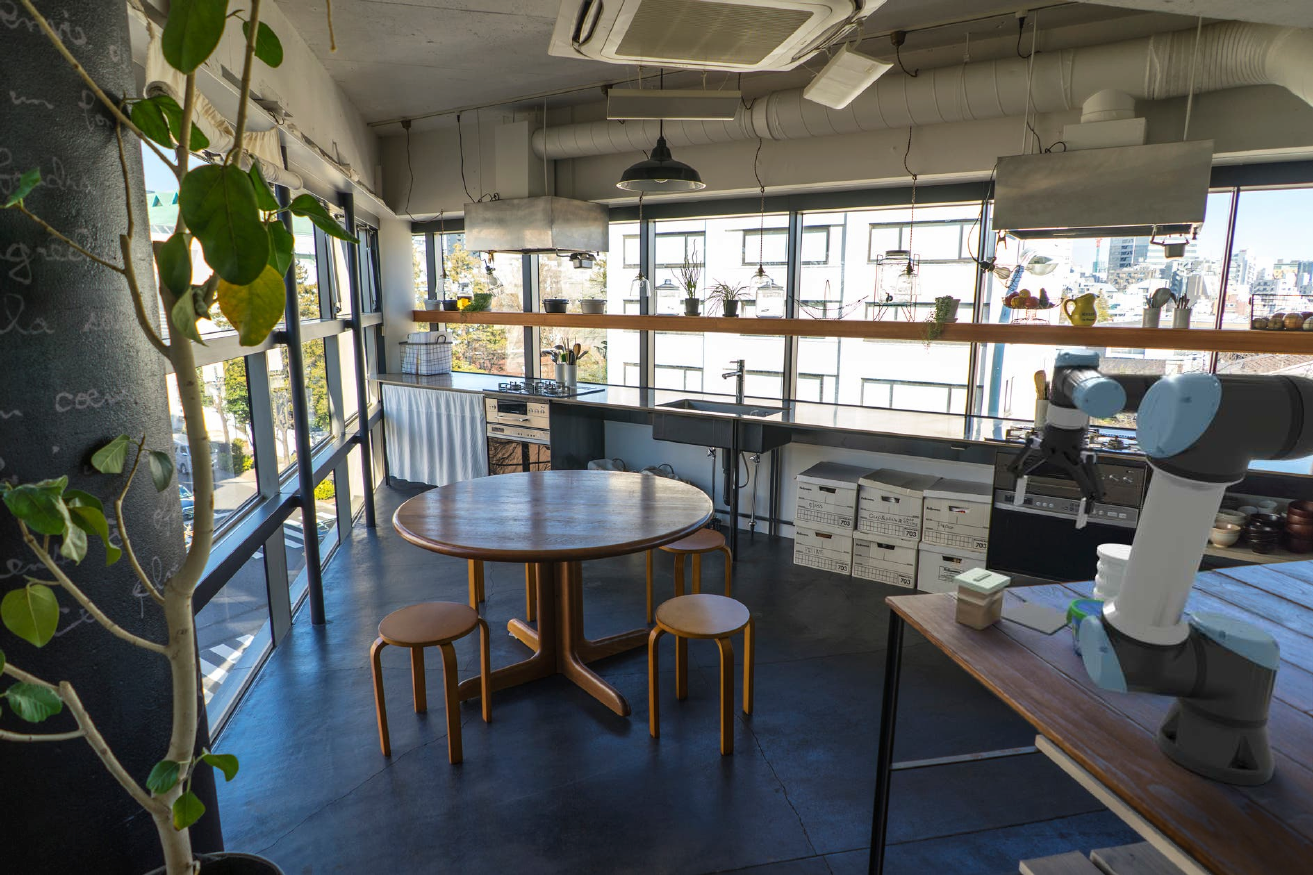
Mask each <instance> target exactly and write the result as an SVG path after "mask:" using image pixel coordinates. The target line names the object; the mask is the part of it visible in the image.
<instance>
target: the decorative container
mask: <svg viewBox="0 0 1313 875" xmlns="http://www.w3.org/2000/svg"><path fill="white" fill-rule="evenodd" d="M1131 548H1132V545H1127V544H1120V543H1103V544H1100V545H1098V546H1097V549H1096V555H1097V556H1098V557H1099V560H1098V561H1097V564H1096V568H1097V574H1096V576H1095V577H1094V579H1095V587H1094V589H1093V597H1094V598H1093V599H1096V600H1101V601H1107V600H1108V599H1110V598H1112V597H1115V596H1118V593H1119V589H1120V586H1121V582H1122V579H1123V575H1124V572H1125V569H1126V565H1127V562H1128V558H1129V555H1130V551H1131Z"/></svg>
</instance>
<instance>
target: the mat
mask: <svg viewBox="0 0 1313 875" xmlns="http://www.w3.org/2000/svg"><path fill="white" fill-rule="evenodd" d="M1066 615H1067V613H1065V612H1060V611H1058V610H1055V609H1052V608H1050V607H1046V606H1043V605H1041V604H1037V603H1035V602H1031V601H1028V600H1027V601H1025V602H1023V603H1021V604H1019V605H1017V606H1016V607H1014V608H1012V609H1010V610H1008V611H1007V612H1006V611H1005V613H1002V614H1001V619H1004V620H1007V621H1010V622H1012V623H1015V624H1018V625H1021V626H1023V627H1027V628H1029V629H1033V630H1035V631H1038V632H1040V633H1043V634H1045V635H1046V634H1047V635H1049V636H1050V635H1052V634H1053V633H1055V632H1056V631H1059V630H1060V629H1062V628H1063V627H1065V626H1066V625H1067V624H1069V623H1068V622H1067V620H1066Z"/></svg>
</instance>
